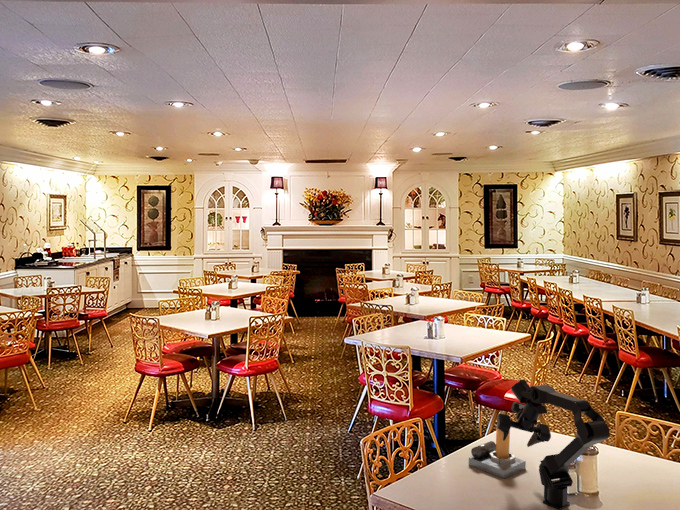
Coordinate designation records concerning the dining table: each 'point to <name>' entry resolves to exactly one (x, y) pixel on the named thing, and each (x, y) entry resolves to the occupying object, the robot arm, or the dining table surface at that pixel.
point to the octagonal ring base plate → (495, 461)
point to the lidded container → (502, 444)
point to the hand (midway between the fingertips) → (515, 442)
